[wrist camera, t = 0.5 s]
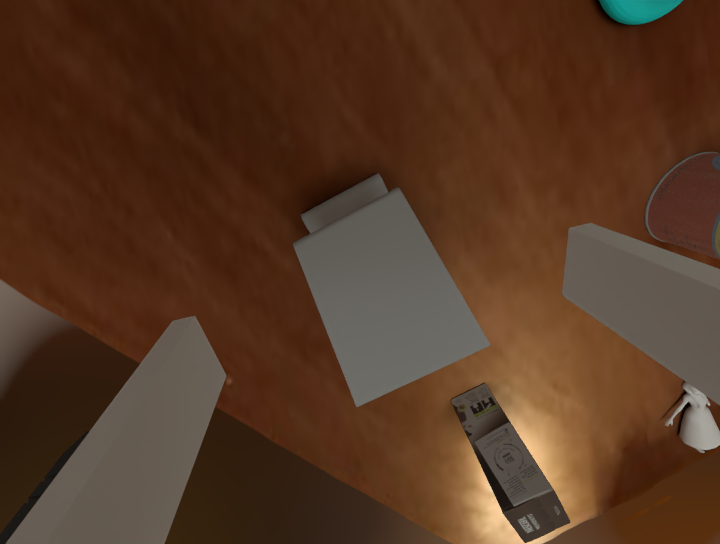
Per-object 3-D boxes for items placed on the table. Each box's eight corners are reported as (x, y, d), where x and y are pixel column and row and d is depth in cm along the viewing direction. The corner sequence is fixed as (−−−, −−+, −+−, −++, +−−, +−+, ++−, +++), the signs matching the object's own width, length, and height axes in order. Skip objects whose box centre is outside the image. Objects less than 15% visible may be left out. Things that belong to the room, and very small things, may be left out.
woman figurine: (684, 468, 58) (673, 404, 51) (661, 447, 62) (647, 385, 56) (748, 443, 57) (744, 374, 50) (719, 423, 61) (713, 357, 54)
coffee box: (448, 400, 49) (501, 513, 35) (485, 381, 49) (555, 489, 34) (468, 432, 53) (524, 546, 39) (503, 415, 52) (573, 525, 38)
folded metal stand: (300, 212, 35) (278, 301, 17) (376, 171, 34) (440, 218, 16) (372, 330, 42) (410, 479, 24) (435, 299, 41) (524, 430, 23)
